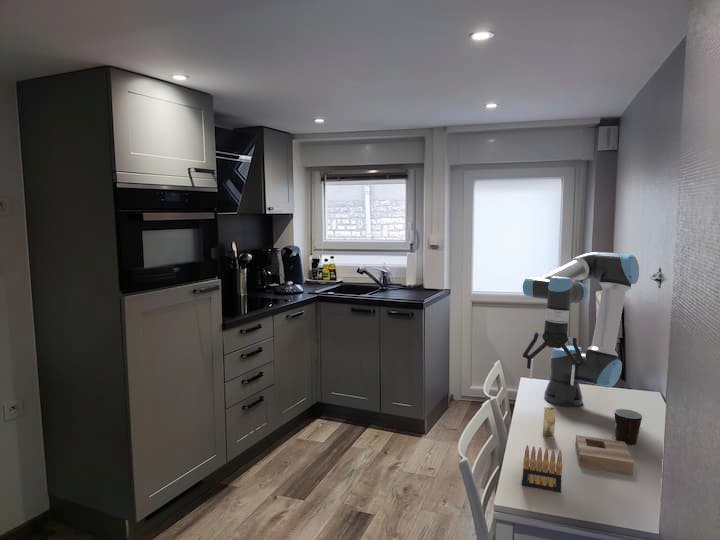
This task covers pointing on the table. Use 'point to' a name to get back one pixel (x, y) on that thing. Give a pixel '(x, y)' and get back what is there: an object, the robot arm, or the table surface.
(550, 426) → the tan cylinder
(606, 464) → the block
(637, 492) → the table surface
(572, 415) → the table surface
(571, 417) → the table surface
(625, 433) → the coffee mug
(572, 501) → the table surface
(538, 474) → the ammunition clip
